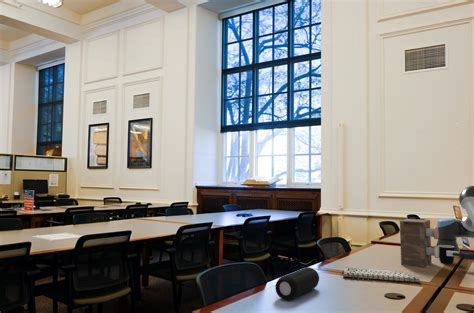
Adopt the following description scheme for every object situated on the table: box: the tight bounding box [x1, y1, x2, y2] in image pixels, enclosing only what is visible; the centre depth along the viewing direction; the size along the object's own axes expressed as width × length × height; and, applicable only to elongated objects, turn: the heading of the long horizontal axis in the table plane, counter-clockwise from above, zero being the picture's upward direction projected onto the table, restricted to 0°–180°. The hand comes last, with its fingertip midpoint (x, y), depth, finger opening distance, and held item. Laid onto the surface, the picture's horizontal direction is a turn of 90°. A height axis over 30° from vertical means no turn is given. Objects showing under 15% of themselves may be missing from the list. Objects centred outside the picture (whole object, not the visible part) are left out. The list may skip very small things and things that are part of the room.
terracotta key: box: [426, 226, 439, 240], centre depth 229 cm, size 7×12×7 cm, turn 51°
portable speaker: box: [274, 267, 320, 301], centre depth 173 cm, size 26×10×10 cm, turn 142°
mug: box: [438, 245, 455, 265], centre depth 236 cm, size 12×9×10 cm
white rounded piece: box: [426, 245, 439, 259], centre depth 229 cm, size 7×12×7 cm, turn 51°
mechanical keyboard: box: [341, 266, 421, 285], centre depth 201 cm, size 38×19×3 cm, turn 74°
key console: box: [399, 218, 432, 269], centre depth 233 cm, size 16×13×26 cm
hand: (446, 253), depth 222 cm, fingers closed
